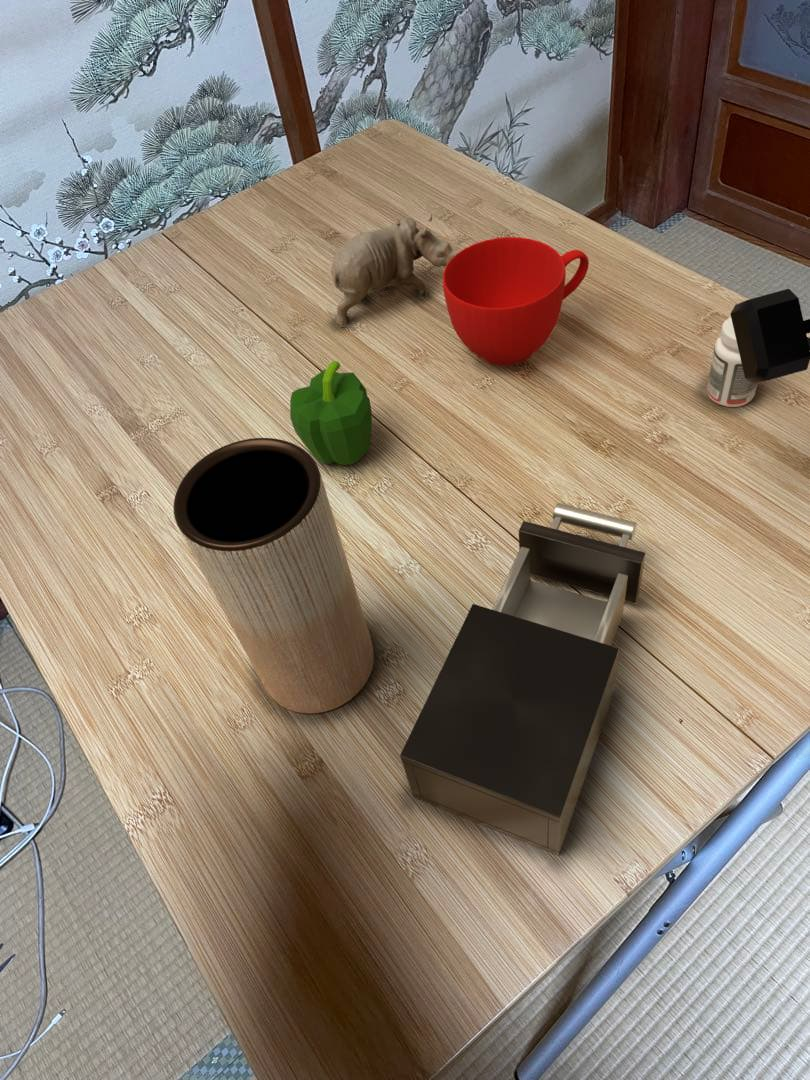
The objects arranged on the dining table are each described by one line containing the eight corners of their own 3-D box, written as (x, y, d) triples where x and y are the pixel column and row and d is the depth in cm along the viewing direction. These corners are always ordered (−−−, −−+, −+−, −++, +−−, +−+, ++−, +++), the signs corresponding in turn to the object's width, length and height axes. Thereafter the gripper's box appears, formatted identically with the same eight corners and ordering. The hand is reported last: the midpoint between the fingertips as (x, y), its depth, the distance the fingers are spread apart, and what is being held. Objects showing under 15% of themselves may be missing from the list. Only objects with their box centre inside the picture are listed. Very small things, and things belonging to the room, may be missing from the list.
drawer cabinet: (478, 653, 71) (472, 603, 65) (612, 696, 67) (619, 647, 61) (412, 797, 64) (399, 755, 58) (558, 855, 60) (560, 817, 54)
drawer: (540, 526, 78) (540, 484, 73) (652, 555, 74) (659, 513, 70) (472, 675, 69) (467, 638, 64) (596, 717, 65) (600, 681, 61)
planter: (354, 725, 68) (288, 559, 51) (244, 703, 71) (145, 537, 54) (388, 624, 74) (340, 443, 57) (285, 607, 77) (208, 428, 59)
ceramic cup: (616, 343, 94) (623, 265, 86) (484, 400, 91) (478, 325, 83) (554, 287, 101) (555, 211, 94) (431, 338, 98) (421, 263, 91)
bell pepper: (341, 490, 85) (320, 418, 77) (289, 455, 89) (265, 384, 81) (398, 443, 88) (384, 369, 80) (345, 411, 92) (327, 338, 85)
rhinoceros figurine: (299, 284, 104) (351, 177, 95) (391, 309, 112) (447, 211, 103) (315, 324, 100) (371, 215, 91) (409, 346, 108) (469, 248, 98)
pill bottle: (760, 384, 87) (777, 317, 80) (746, 413, 84) (763, 347, 78) (714, 372, 89) (727, 307, 82) (699, 401, 86) (712, 336, 80)
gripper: (823, 445, 57) (717, 450, 72) (1073, 373, 58) (916, 393, 73) (787, 282, 55) (687, 323, 71) (1043, 212, 56) (890, 267, 72)
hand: (797, 330), depth 72 cm, fingers open, 9 cm apart
